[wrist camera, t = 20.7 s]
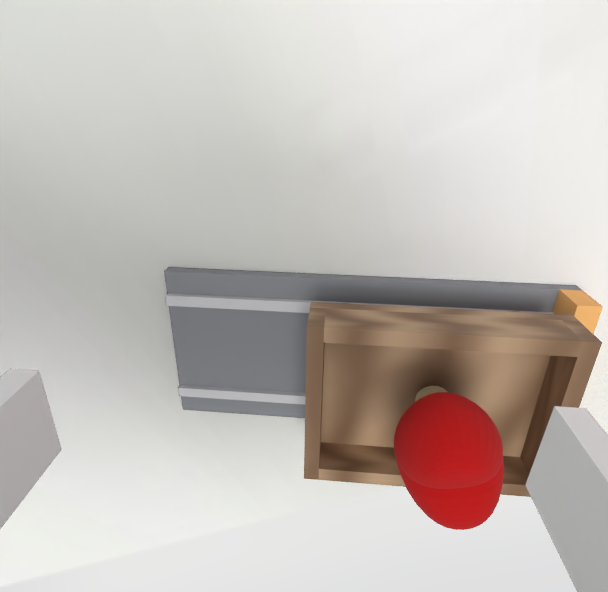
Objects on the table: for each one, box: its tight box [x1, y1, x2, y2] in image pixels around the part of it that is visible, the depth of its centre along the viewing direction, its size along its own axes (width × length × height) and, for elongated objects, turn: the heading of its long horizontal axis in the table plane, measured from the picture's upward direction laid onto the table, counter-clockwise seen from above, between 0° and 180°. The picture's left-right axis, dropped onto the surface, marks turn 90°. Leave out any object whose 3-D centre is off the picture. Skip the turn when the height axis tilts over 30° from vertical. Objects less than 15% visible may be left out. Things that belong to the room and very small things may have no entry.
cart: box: [304, 302, 602, 497], centre depth 35 cm, size 19×14×7 cm
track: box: [164, 267, 602, 418], centre depth 38 cm, size 35×15×4 cm, turn 89°
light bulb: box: [394, 386, 504, 530], centre depth 30 cm, size 9×7×10 cm
